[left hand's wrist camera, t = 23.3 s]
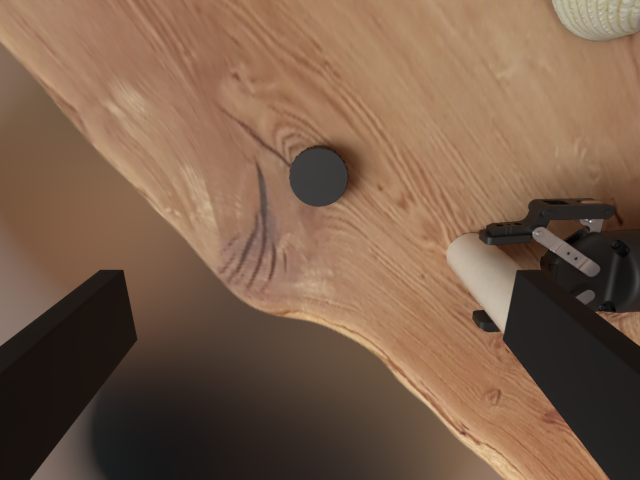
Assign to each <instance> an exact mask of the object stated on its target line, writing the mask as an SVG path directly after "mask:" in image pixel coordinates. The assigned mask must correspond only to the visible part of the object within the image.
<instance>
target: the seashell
mask: <svg viewBox="0 0 640 480" xmlns="http://www.w3.org/2000/svg"><path fill="white" fill-rule="evenodd" d="M552 3H553V6H554V9H555V11H556V13H557V15H558V17H559V19H560V20H561V22H562V24H563V25H564V26H565V27H566V28H567V29H569V30H570V31H571V32H572V33H574V34H575V35H577V36H579V37H581V38H584V39H588V40H593V41H607V40H613V39H617V38H620V37H623V36H627V35H630V34H633V33H636V32H638V31H640V0H552Z"/></svg>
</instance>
